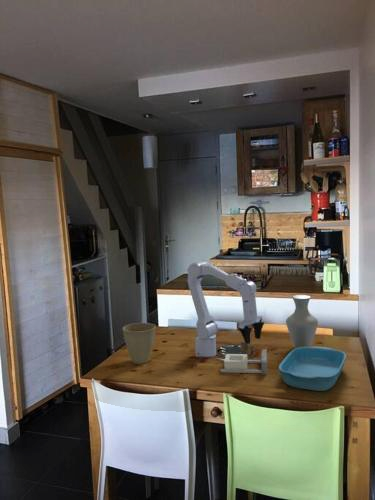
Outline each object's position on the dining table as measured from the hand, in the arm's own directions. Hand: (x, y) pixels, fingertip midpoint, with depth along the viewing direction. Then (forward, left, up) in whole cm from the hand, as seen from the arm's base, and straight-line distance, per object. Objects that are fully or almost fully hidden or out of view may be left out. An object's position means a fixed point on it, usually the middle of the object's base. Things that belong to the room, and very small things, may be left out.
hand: (252, 340), depth 188 cm
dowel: (-4, +9, -10) cm, 14 cm away
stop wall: (+5, -6, -10) cm, 13 cm away
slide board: (-4, -6, -10) cm, 13 cm away
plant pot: (-51, +1, -11) cm, 52 cm away
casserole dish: (+24, -11, -11) cm, 29 cm away
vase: (+22, +22, -11) cm, 33 cm away
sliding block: (-7, -6, -9) cm, 13 cm away
